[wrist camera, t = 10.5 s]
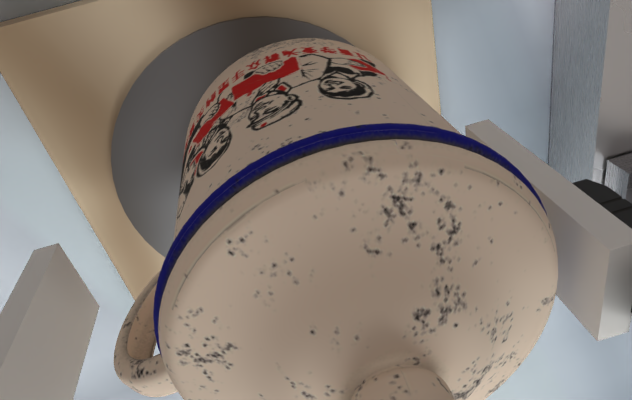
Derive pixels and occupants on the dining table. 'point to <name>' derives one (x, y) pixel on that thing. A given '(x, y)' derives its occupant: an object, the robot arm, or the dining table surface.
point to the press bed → (169, 92)
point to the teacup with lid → (338, 245)
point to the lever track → (590, 87)
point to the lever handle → (620, 176)
